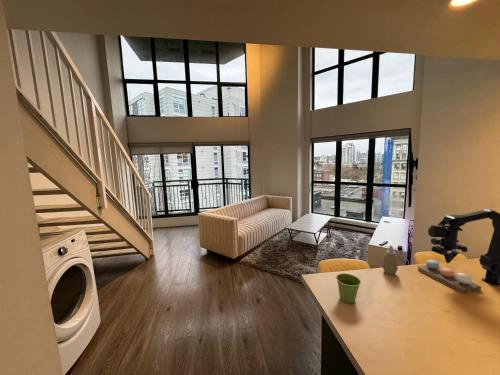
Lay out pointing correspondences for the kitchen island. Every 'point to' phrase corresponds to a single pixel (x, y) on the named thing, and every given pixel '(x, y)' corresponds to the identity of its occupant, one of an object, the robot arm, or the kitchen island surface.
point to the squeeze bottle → (390, 262)
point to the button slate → (432, 264)
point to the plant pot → (348, 287)
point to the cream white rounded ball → (464, 278)
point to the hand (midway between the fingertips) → (447, 262)
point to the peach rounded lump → (447, 272)
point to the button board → (449, 280)
